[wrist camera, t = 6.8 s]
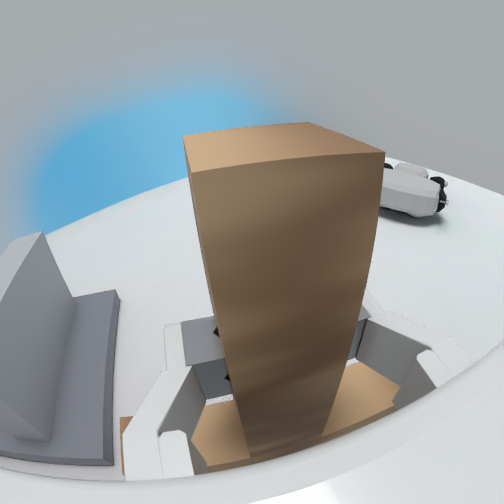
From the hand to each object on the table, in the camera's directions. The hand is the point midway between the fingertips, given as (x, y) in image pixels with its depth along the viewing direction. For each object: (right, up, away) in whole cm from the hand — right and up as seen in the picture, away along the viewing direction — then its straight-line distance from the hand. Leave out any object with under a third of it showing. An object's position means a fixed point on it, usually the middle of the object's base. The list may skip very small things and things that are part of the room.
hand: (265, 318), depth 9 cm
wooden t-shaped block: (+1, -7, +4) cm, 8 cm away
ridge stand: (-14, -7, +7) cm, 17 cm away
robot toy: (+20, +9, +26) cm, 34 cm away
